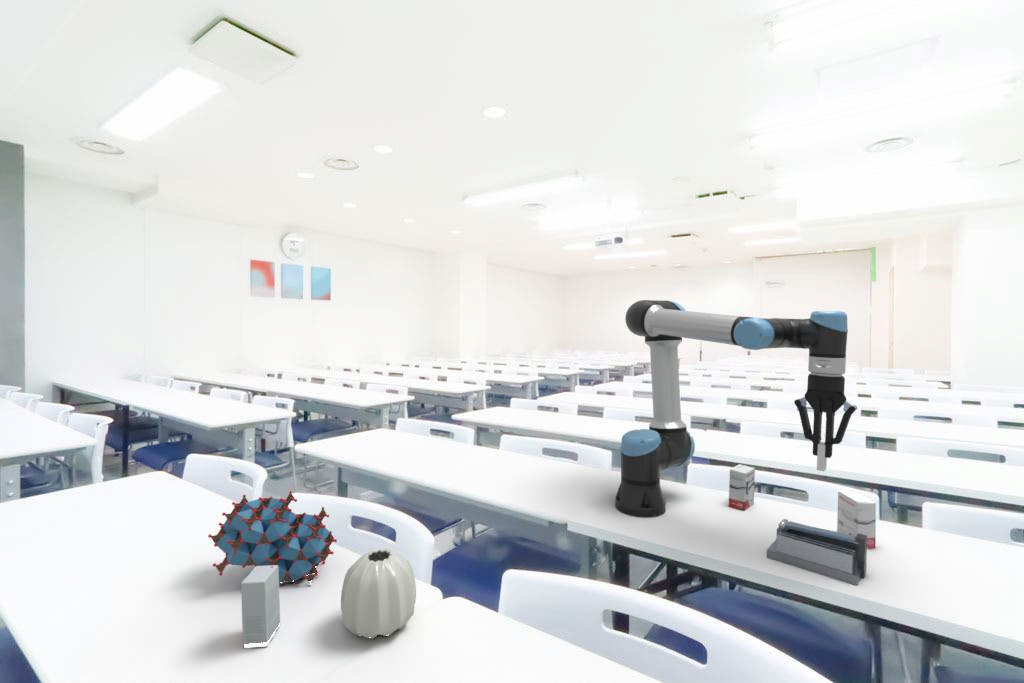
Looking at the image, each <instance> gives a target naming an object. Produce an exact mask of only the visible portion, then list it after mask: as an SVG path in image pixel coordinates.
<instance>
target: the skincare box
mask: <svg viewBox="0 0 1024 683" xmlns="http://www.w3.org/2000/svg"><path fill="white" fill-rule="evenodd" d="M240 589H241V590H240V591H241V592H240V593H241V594H240V595H241V617H242V618H241V620H242V621H241V622H242V645H243V644H249V643H261V642H262V643H263V642H267V641H268V640H269V639H270V637H271V635H272V634H273V632H274V631H275V629H276V628H277V627H278V625H279V623H280V624H281V607H280V606H281V605H280V604H281V603H280V582H279V569H278V565H268V566H256V567H255V566H254V568H253V569H252V570H251V571H250V573H248V574H247V576H246V577H245V578H244V579H243V581H241V583H240Z"/></svg>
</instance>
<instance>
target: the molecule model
mask: <svg viewBox="0 0 1024 683" xmlns="http://www.w3.org/2000/svg"><path fill="white" fill-rule="evenodd" d="M246 497H247V495H246V494H243V495H242V499H241V500H240V502H239V503H237V502H235V501H233V502H231V504H232V506H233V507H234V508H233V509H232V511H230V513H226V512H225V511H224V512H222V516H225V518H226V520H225V522H224V523H222V522H219V523H218V526H220V529H219V531H218V533H217V534H215V535H212V534H208V536H207V537H208V538H210V539H212V541H213V544H214V545H213V546H214V547H215V548H216V547H217V548H219V549H220V550H221V551H222V552H223V554H225V557H224V558H223V560H222V562H220V563H219V564H217V563H213V564H212V567H213V568H216V570H217V571H218V572H219V574H218V575H219V576H220V577H221V576H223V574H224V573H223V572H224V570H225V568H226V567H227V566H229V565H231V566H238V567H241V568H242V569H245V568H246V567H250V566H251V567H252V566H254V568H255V567H256V566H268V565H278V569H279V583H280V582H283V583H285V582H284V581H293V580H295V581H298V580H301V578H305V579H306V580H307V582H308V581H311V580H313V581H314V579H315V578H316V577H317V576H318V574H317V573H319V572H318V570H317V568H315V566H317V567H318V566H319V565H320V563H321V564H322V565H325V564H326V559H327V558H328V556H329V555H334V551H332V550H331V549H330V547H331V545H332V544H333V542H334V543H337V542H338V539H335V538H334V536H333V531H332V530H329V529H328V528H326V527H327V526H326V525H325V524H324V523H323V522H322V521H323V519H325V517H326V518H329V517H330V514H327V512H326V510H325V507H324V506H322V507H321V511H320V512H319V513H318V514H316V513H315V514H313V515H312V514H307V513H306V512H303V513H299V514H296V513H294V512H293V511H292V508H289V505H290V503H291V502H292V501H294V502H296V503H297V502H298V499H297V498H295V497H294V496H293V491H291V490H290V491H289V492H288V496H287V498H286V499H284V498H280V499H279V498H273V496H269V497H266V498H265V497H264V498H262V497H261V496H260V497H258V498H257V499H254V500H251V501H248V499H247V498H246ZM322 561H323V562H322ZM312 573H315V574H314V575H308V574H312ZM306 575H308V576H306ZM297 579H298V580H297Z"/></svg>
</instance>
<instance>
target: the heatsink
mask: <svg viewBox="0 0 1024 683" xmlns="http://www.w3.org/2000/svg"><path fill="white" fill-rule="evenodd" d="M788 522H792V523H797V524H800V523H799V522H795V521H791V520H788ZM801 524H802V523H801ZM802 525H804V524H802ZM805 525H806V524H805ZM806 526H808V525H806ZM867 551H868V548H867V535H863V534H859V533H858V534H857V536H856V538H855V541H854V543H852V542H848V541H843V540H839V539H834V538H830V537H825V536H820V535H816V534H811V533H807V532H802V531H798V530H793V529H789V528H784V529H780V528H779V526H778V527H777V528H776V539H775V540H774V541H773V542H772V543H771V544H770V545H769V546H768V547H767V549H766V558H768V559H771V560H774V561H778V562H781V563H784V564H787V565H791V566H793V567H796V568H800V569H802V570H807V571H810V572H812V573H816V574H819V575H823V576H825V577H829V578H832V579H835V580H838V581H842V582H845V583H849V584H850V585H854V586H858V585H859V583H860V581H861V578H862V579H865V577H866V574H867V558H868V552H867Z"/></svg>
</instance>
